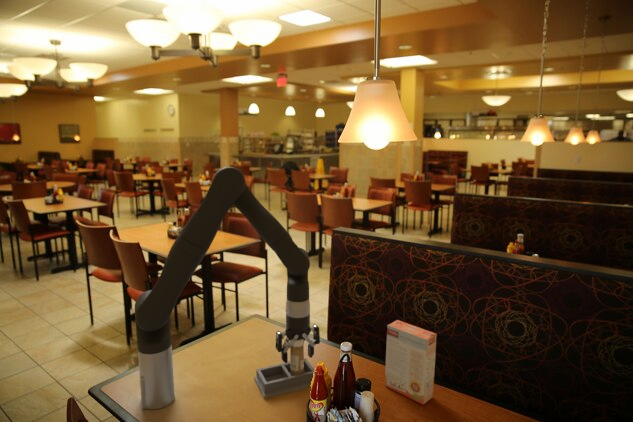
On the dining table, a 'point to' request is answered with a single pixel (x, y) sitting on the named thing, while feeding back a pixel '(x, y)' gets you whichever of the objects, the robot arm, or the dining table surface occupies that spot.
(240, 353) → the dining table surface
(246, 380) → the dining table surface
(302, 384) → the caddy
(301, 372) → the sprinkles bottle
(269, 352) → the dining table surface
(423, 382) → the cracker box
